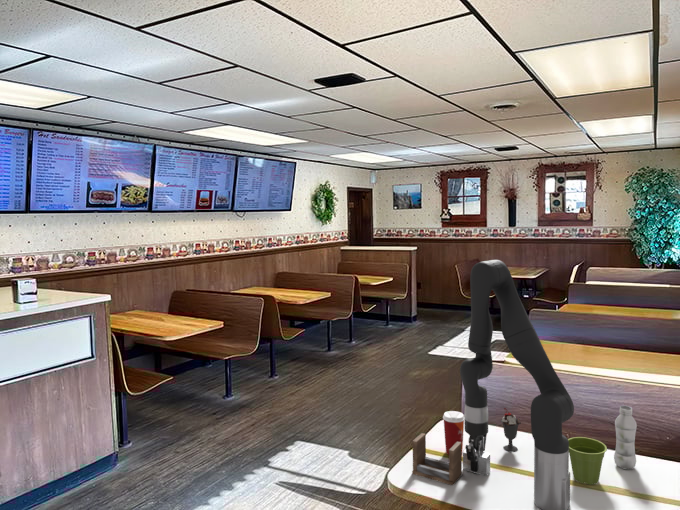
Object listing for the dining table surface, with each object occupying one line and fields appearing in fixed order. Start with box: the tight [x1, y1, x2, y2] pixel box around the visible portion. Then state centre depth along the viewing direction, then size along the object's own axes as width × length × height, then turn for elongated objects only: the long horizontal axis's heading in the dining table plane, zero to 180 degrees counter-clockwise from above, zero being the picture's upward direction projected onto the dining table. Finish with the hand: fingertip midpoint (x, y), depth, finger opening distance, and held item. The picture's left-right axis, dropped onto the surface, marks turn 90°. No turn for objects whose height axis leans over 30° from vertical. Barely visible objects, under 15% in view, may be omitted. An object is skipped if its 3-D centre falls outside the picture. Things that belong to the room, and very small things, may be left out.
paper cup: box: [442, 410, 465, 456], centre depth 184 cm, size 8×8×14 cm
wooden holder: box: [411, 432, 463, 486], centre depth 169 cm, size 14×8×11 cm, turn 56°
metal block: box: [462, 448, 491, 477], centre depth 171 cm, size 8×4×6 cm, turn 56°
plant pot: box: [567, 436, 608, 486], centre depth 164 cm, size 12×12×11 cm
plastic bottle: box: [613, 405, 638, 470], centre depth 170 cm, size 6×7×20 cm
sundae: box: [500, 407, 521, 453], centre depth 185 cm, size 7×7×15 cm
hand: (476, 468), depth 172 cm, fingers closed on metal block, 3 cm apart
